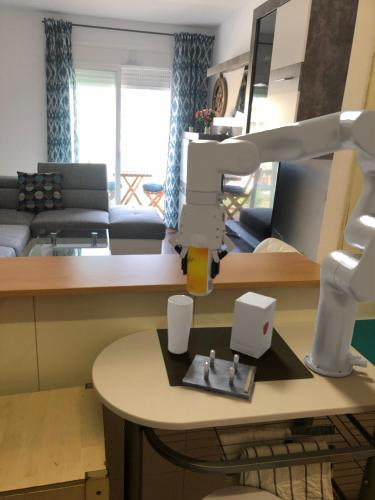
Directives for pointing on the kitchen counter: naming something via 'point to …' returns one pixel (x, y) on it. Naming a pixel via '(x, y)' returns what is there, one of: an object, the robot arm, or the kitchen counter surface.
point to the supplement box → (253, 324)
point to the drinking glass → (179, 322)
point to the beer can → (199, 266)
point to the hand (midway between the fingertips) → (200, 274)
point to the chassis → (220, 376)
